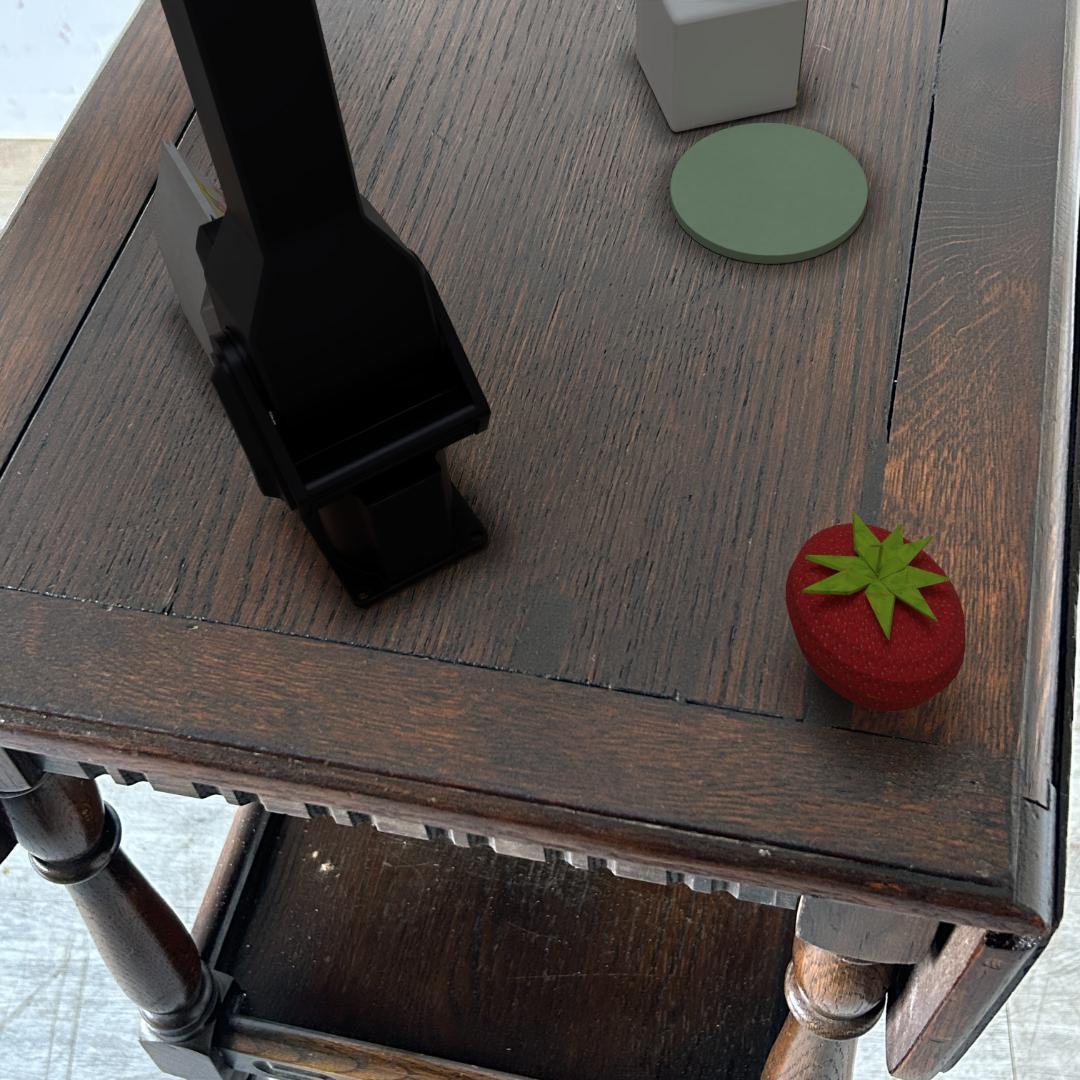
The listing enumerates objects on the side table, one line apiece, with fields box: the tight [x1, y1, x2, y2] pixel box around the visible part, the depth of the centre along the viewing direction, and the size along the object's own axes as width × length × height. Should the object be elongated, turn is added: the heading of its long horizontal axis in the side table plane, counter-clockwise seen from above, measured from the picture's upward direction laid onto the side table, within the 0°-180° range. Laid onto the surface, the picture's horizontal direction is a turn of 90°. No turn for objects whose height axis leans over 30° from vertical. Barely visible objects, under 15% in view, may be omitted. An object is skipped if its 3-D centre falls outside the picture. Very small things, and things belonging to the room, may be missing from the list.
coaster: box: [669, 122, 869, 265], centre depth 72 cm, size 10×10×1 cm
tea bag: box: [148, 135, 227, 368], centre depth 64 cm, size 4×7×10 cm, turn 28°
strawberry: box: [785, 511, 966, 713], centre depth 52 cm, size 6×8×10 cm
